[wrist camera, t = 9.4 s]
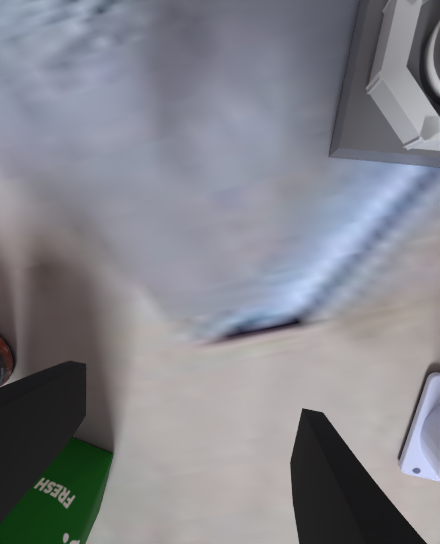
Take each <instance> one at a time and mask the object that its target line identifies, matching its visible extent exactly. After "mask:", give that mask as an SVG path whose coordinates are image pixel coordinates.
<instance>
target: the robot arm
mask: <svg viewBox="0 0 440 544" xmlns="http://www.w3.org/2000/svg"><path fill="white" fill-rule="evenodd" d="M85 416H86V364H83V363H79V362H74V361H68V362H64V363H61V364H59V365H56V366H53V367H50V368H48V369H45V370H43V371H40V372H38V373H35V374H32V375H30V376H27V377H25V378H22V379H20V380H17V381H15V382H12V383H10V384H7V385H5V386H2V387H0V524H1V522H2V521H3V520H4V519H5V518H6V516H7V515H8V514H9V513H10V512H11V511H12V509H13V508H14V507H15V506H16V505H17V503H18V502H19V501H20V500H21V499H22V498H23V496H24V495H25V494H26V493H27V492H28V490H29V489H30V488H31V487H32V486H33V484H34V483H35V482H36V481H37V480H38V479H39V477H40V476H41V475H42V474H43V473H44V471H45V470H46V469H47V468H48V467H49V465H50V464H51V463H52V462H53V461H54V459H55V458H56V457H57V456H58V455H59V453H60V452H61V451H62V450H63V448H64V447H65V446H66V444H67V443H68V441H69V440H70V439H71V437H72V436H73V434H74V433H75V431H76V430H77V428H78V427H79V425H80V424H81V422H82V421H83V419H84V417H85ZM290 465H291V482H292V496H293V506H294V513H295V519H296V525H297V532H298V538H299V544H427V543H426V542H425V541H424V540H423V539H422V538H421V537H420V535H419V534H418V533H417V532H416V531H415V530H414V528H413V527H412V526H411V525H410V524H409V522H408V521H407V520H406V519H405V518H404V517H403V515H402V514H401V513H400V512H399V511H398V509H397V508H396V507H395V506H394V505H393V504H392V502H391V501H390V500H389V499H388V497H387V496H386V495H385V494H384V492H383V491H382V490H381V489H380V487H379V486H378V485H377V484H376V482H375V481H374V480H373V479H372V477H371V476H370V475H369V473H368V472H367V471H366V470H365V468H364V467H363V466H362V464H361V463H360V462H359V460H358V459H357V458H356V457H355V455H354V454H353V453H352V451H351V450H350V449H349V447H348V446H347V444H346V443H345V442H344V440H343V439H342V438H341V436H340V435H339V434H338V432H337V431H336V430H335V428H334V427H333V425H332V424H331V423H330V421H329V420H328V419H327V417H326V416H325V415H324V413H323V412H318V411H313V410H308V409H303V408H302V412H301V417H300V421H299V426H298V430H297V435H296V439H295V444H294V448H293V453H292V457H291V462H290ZM399 467H400V469H401V470H402V472H403V473H405V474H409V475H413V476H418V477H422V478H427V479H431V480H436V481H440V373H438V372H434V373H431V374H430V375H429V376H428V378H427V381H426V383H425V386H424V389H423V392H422V395H421V398H420V401H419V404H418V407H417V410H416V413H415V416H414V419H413V422H412V425H411V428H410V431H409V434H408V437H407V440H406V443H405V446H404V449H403V452H402V455H401V458H400V461H399Z"/></svg>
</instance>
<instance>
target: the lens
mask: <svg viewBox="0 0 440 544" xmlns="http://www.w3.org/2000/svg"><path fill="white" fill-rule="evenodd" d="M419 75H420V80H421V84H422V86H423V89H424V90H425V92H426V94H427V95H428V96H429V97H430V98H431V99H432V100H433V101H434V102H435V103H437V104H439V105H440V20H439V21H438V23H437V24H436V26H435V27H434V29H433V31H432V33H431V34H430V35H429V37H428V39H427V41H426V43H425V45H424V47H423V50H422V53H421V57H420V62H419Z"/></svg>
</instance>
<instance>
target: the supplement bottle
mask: <svg viewBox="0 0 440 544" xmlns="http://www.w3.org/2000/svg"><path fill="white" fill-rule="evenodd" d="M12 370H13V358H12V355H11V352H10V349H9V347H8V346H7V344H6V343H5V342H4V340H3V339H2V338H1V337H0V386H2V385H3V384H4V383H6V382H7V380H8V379H9V378H10V376H11V374H12Z"/></svg>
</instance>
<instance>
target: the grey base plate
mask: <svg viewBox="0 0 440 544" xmlns="http://www.w3.org/2000/svg"><path fill="white" fill-rule="evenodd" d="M439 20H440V0H360V2H359V7H358V13H357V18H356V23H355V28H354V33H353V38H352V43H351V48H350V53H349V58H348V63H347V68H346V73H345V78H344V83H343V88H342V93H341V98H340V103H339V108H338V113H337V118H336V123H335V128H334V133H333V138H332V143H331V148H330V153H329V157H335V158H346V159H356V160H366V161H377V162H387V163H398V164H408V165H419V166H429V167H439V168H440V105H439V104H437V103H435V102H434V101H433V100H432V99H431V98H430V97H429V96H428V95H427V94H426V92H425V90H424V89H423V86H422V84H421V80H420V75H419V62H420V57H421V53H422V50H423V47H424V45H425V43H426V41H427V39H428V37H429V35H430V34H431V33H432V31H433V29H434V27H435V26H436V24H437V23H438V21H439Z"/></svg>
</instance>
